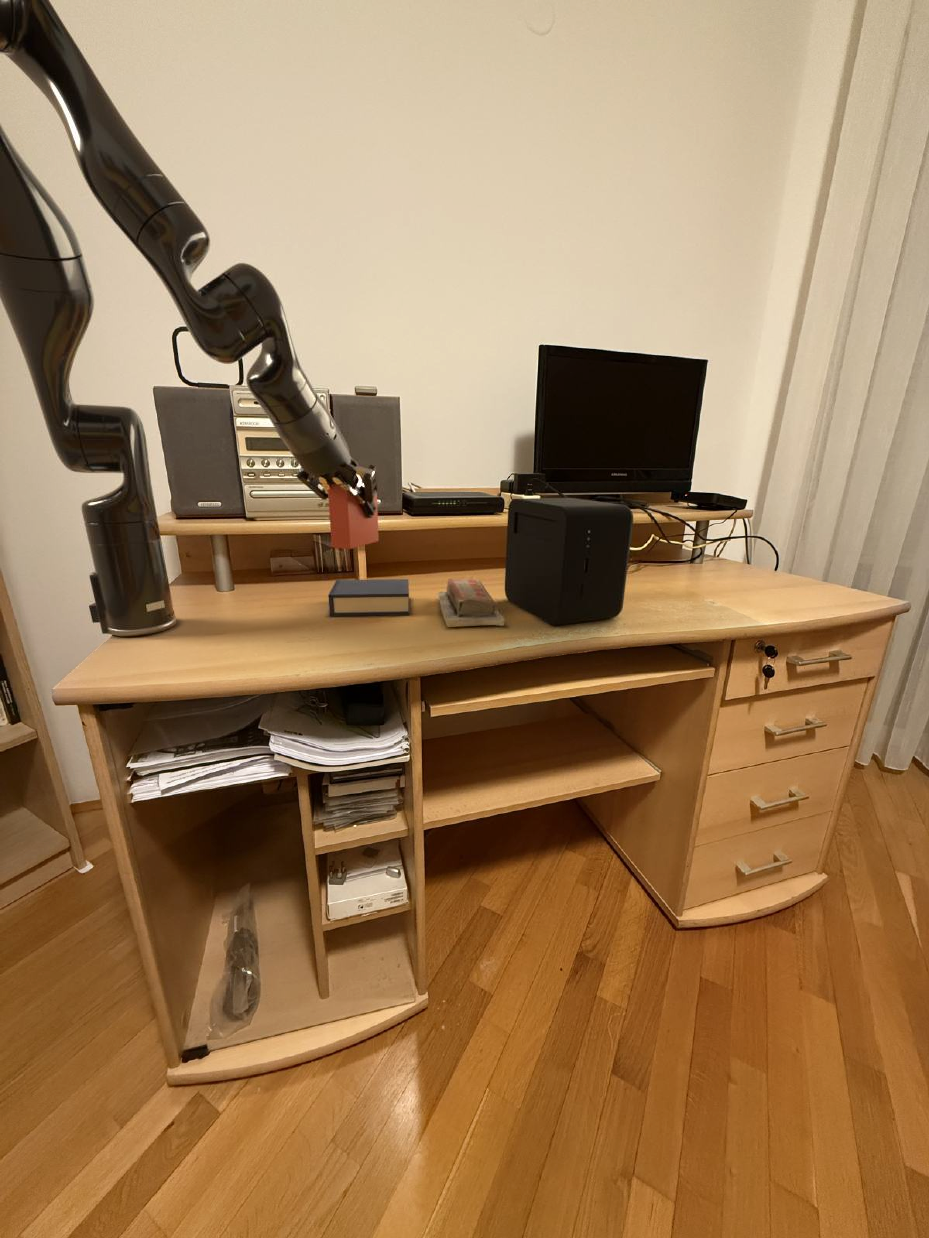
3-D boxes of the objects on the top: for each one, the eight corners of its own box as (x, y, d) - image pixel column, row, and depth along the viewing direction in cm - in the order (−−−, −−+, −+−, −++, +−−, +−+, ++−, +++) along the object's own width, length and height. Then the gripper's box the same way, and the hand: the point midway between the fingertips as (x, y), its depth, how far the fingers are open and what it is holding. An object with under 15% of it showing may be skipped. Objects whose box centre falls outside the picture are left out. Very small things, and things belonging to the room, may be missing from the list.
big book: (329, 616, 87) (328, 594, 85) (337, 599, 97) (336, 580, 96) (409, 615, 88) (408, 593, 87) (408, 598, 99) (408, 579, 97)
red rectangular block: (350, 549, 78) (346, 477, 75) (331, 547, 79) (326, 476, 76) (379, 541, 86) (376, 476, 83) (361, 539, 87) (358, 475, 84)
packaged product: (437, 576, 97) (486, 575, 98) (437, 599, 98) (486, 598, 100) (446, 600, 80) (506, 599, 81) (446, 628, 81) (505, 627, 83)
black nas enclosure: (628, 620, 87) (642, 506, 81) (558, 629, 82) (568, 507, 76) (564, 592, 105) (572, 496, 99) (503, 598, 100) (508, 497, 93)
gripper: (258, 451, 69) (318, 528, 84) (343, 453, 64) (391, 534, 79) (280, 414, 72) (334, 494, 87) (363, 413, 67) (405, 498, 82)
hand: (361, 513), depth 83 cm, fingers closed on red rectangular block, 3 cm apart
